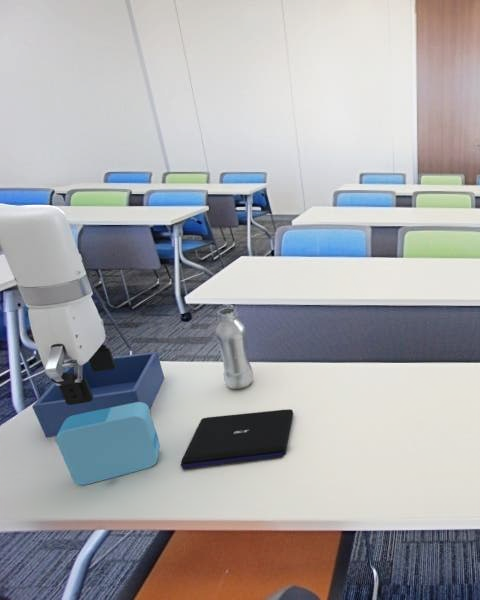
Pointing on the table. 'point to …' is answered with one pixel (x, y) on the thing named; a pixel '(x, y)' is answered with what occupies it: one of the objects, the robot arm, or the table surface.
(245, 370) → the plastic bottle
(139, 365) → the blue bin
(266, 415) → the laptop
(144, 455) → the light blue rounded block
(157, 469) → the table surface
